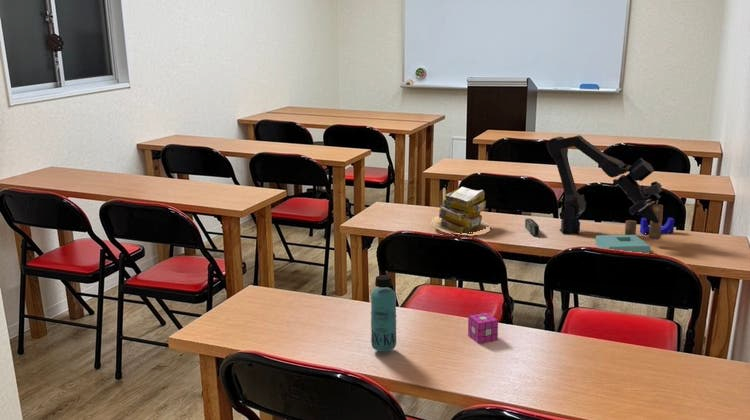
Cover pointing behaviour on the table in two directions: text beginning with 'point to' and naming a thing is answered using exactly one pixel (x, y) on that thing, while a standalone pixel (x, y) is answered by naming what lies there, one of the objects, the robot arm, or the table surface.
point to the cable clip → (665, 229)
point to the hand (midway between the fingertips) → (659, 221)
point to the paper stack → (461, 212)
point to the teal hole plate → (622, 243)
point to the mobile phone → (532, 227)
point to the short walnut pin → (630, 227)
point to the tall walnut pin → (656, 227)
